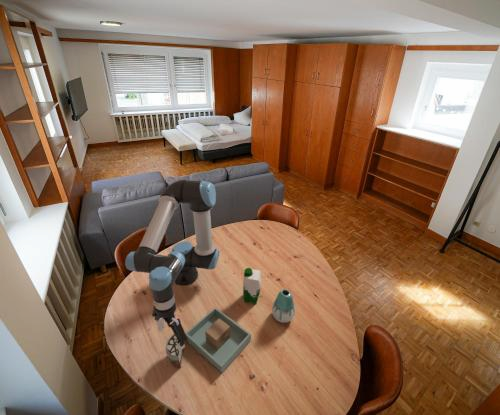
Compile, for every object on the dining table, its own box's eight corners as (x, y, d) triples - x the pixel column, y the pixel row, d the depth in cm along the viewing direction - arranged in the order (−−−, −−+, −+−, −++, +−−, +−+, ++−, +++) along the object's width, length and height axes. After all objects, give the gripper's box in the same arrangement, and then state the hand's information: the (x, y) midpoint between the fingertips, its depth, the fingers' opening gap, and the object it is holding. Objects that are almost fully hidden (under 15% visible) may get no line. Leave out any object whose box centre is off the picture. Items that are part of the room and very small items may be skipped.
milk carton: (245, 290, 153) (245, 264, 143) (260, 293, 151) (262, 266, 142) (241, 302, 145) (242, 275, 136) (258, 305, 144) (259, 278, 134)
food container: (170, 344, 123) (167, 331, 118) (184, 343, 124) (181, 330, 119) (165, 372, 113) (162, 358, 108) (180, 371, 113) (177, 357, 108)
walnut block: (219, 328, 131) (219, 318, 127) (230, 337, 127) (230, 326, 123) (206, 342, 124) (205, 331, 120) (216, 351, 121) (216, 340, 117)
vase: (295, 311, 142) (299, 286, 133) (291, 329, 132) (295, 304, 123) (274, 304, 145) (277, 280, 136) (268, 322, 135) (271, 297, 126)
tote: (185, 340, 125) (184, 333, 123) (215, 313, 139) (215, 307, 136) (221, 373, 113) (221, 366, 110) (250, 340, 126) (251, 334, 124)
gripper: (137, 292, 105) (146, 327, 115) (177, 328, 92) (183, 364, 102) (154, 282, 110) (161, 316, 121) (194, 314, 97) (198, 350, 107)
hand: (171, 338), depth 111 cm, fingers open, 13 cm apart
